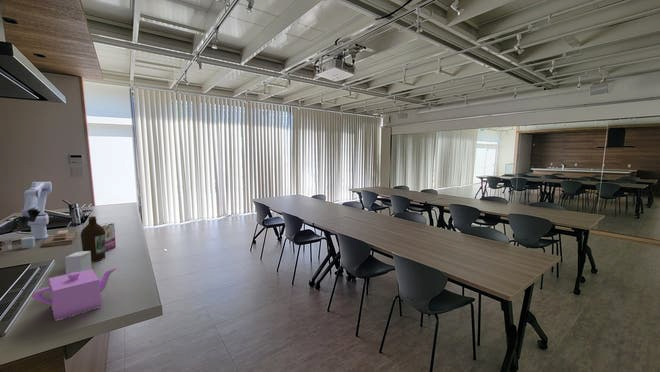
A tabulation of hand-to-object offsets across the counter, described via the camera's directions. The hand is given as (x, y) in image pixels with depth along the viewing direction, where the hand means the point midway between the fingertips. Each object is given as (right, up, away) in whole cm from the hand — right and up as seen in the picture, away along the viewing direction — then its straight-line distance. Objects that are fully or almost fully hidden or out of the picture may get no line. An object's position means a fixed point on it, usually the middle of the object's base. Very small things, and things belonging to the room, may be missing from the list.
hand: (27, 224), depth 173 cm
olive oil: (+57, -18, -16) cm, 62 cm away
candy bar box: (+50, -17, -1) cm, 53 cm away
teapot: (+93, -24, -64) cm, 115 cm away
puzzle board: (+6, -14, +15) cm, 21 cm away
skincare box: (+77, -22, -47) cm, 92 cm away
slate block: (-1, -15, +1) cm, 15 cm away
